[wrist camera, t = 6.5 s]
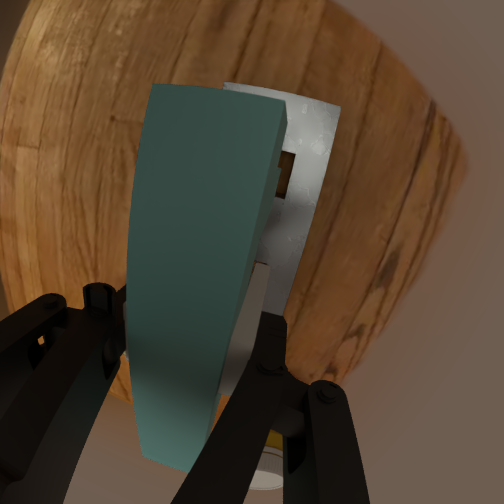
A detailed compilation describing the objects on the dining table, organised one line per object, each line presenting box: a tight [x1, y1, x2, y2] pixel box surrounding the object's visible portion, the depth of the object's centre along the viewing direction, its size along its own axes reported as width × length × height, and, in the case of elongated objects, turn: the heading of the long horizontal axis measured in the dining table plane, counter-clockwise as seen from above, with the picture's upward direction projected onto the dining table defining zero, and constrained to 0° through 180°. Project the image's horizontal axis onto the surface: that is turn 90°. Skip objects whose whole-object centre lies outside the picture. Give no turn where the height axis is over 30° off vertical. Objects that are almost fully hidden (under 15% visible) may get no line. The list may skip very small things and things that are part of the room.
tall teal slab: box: [126, 84, 288, 473], centre depth 12 cm, size 16×3×10 cm, turn 167°
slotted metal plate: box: [222, 82, 341, 316], centre depth 26 cm, size 24×10×3 cm, turn 167°
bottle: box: [249, 429, 283, 490], centre depth 27 cm, size 7×7×15 cm
